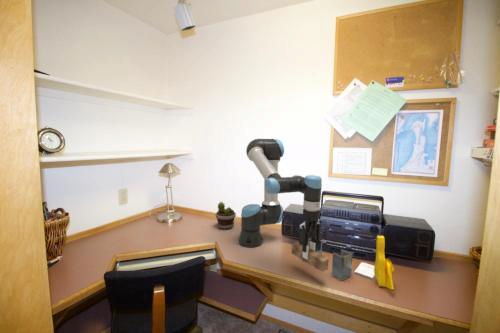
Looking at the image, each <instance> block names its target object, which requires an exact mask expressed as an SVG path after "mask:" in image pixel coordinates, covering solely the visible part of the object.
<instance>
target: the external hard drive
mask: <svg viewBox="0 0 500 333" xmlns="http://www.w3.org/2000/svg"><path fill="white" fill-rule="evenodd" d="M374 267H375V265H373V264H370V263H367V262H364V261H363V262H362V261H361V262H360V263H359V265H358V266H357V267H356V269H355V270H354V272H353V274H354V275H357V276H360V277H363V278H365V279H368V280H370V281H373V280H374V278H376V277H375V274H374Z"/></svg>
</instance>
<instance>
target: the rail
mask: <svg viewBox="0 0 500 333" xmlns="http://www.w3.org/2000/svg"><path fill="white" fill-rule="evenodd" d="M291 254H292V255H294V256H295V257H297V258H298V259H300V260H302V261H303V262H305V263H306V264H308V265H310V266H311V267H313V268H314V269H316V270H319V272H322V273H323V272H325V271H327V270H329V262H330V261H329V260H330V259H329V258H328V257H326V255H325V256H324V255H323V254H322V255H321V254H319V253H317V252H315V251H314V250H312V249H310V248H309V249H308V259H305V258H303V257H302V256H303V251H302V245H301V244H299V241H297V242H293V243H291Z"/></svg>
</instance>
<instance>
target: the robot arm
mask: <svg viewBox="0 0 500 333" xmlns="http://www.w3.org/2000/svg"><path fill="white" fill-rule="evenodd" d="M245 153H246V156H247V158H248V160H250V161H251V162H253V164H254V165H255V167H256V168H257V170H258V172H259V173H260V175H261V176H262V178H263V180H264V181H263V184H264V186H263V189H264V190H263V193H264V194H263V195H264V196H263V197H264V199H263V201H262V202H261V205H260V204H257V203H250V204H247V205H244V206H243V207H242V208H241V214H240V216H241V218H240V219H241V220H240V222H241V225H240V226H241V228H240V229H241V230H240V233H239V235H238V240H237V241H238V244H239V245H240V246H242V247H244V248H257V247H259V246H262V244H263V240H264V239H263V236H262V234H261V226H266V225H276V224H279V223H281V222H282V221H283V219H282V213H283V211H284V207H283V205H281V202H280V201H279V200H278V199H279V198H278V195H279V194H287V193H288V194H289V193H290V194H291V193H301V194H303V203H302V204H303V205H302V208H303V209H302V217H303V222H302V223H298V229H299V232H298V233H299V236H298V237H299V238H298V242H299V244H301V245H302V251H303V256H302V257H303V258H305V259H308V249H309V246H308V240H309V238H311V241H310V249H312V250H314V251H315V248H316V243H318V241H319V240H321V239H320V237H321V228H322V223H323V220H322V219H321V220H320V215H321V211H320V209H321V198H322V187H323V184H322V182H323V181H322V177H321V176H320V175H315V174H314V175H313V174H312V175H311V174H307V175H305V176H302V175H298V174H297V175H296V174H295V175H293V176H287V177H285V176H283V177H282V175H280V173H279V167H278V166H279V162H280V161H281V158H283V156H284V154H285V146H284V144H283V142H282V141H281V140H280V139H277V138H254V139H253V140H251V141H250V142H249V143H248V145H246V151H245ZM284 212H285V211H284Z"/></svg>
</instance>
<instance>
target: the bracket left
mask: <svg viewBox="0 0 500 333" xmlns="http://www.w3.org/2000/svg"><path fill="white" fill-rule="evenodd" d="M310 241H311V237H309V240H308V246H309V248H310ZM322 250H323V240H321V239H320V240H319V241H318V243H316V248H315V252H317V253H319V254H321V255H323V254H322V253H323V252H322Z"/></svg>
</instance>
